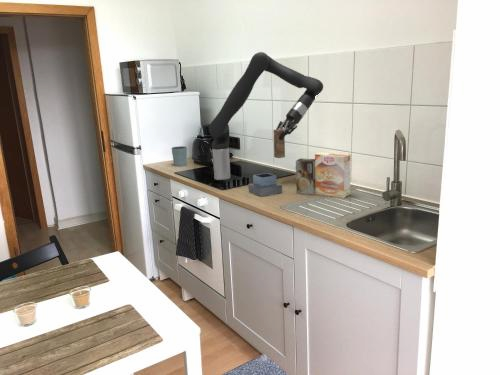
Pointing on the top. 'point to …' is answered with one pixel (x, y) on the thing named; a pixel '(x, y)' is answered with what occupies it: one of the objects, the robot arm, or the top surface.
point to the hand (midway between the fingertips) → (277, 138)
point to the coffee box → (305, 176)
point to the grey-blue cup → (179, 155)
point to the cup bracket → (264, 185)
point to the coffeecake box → (332, 174)
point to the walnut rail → (279, 144)
